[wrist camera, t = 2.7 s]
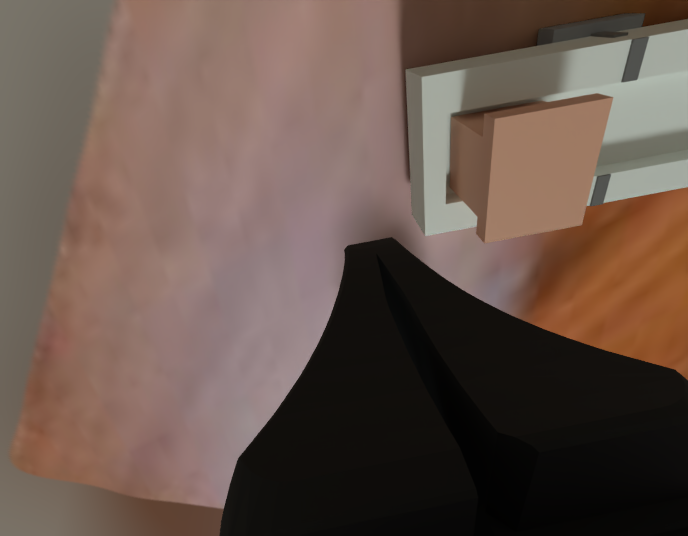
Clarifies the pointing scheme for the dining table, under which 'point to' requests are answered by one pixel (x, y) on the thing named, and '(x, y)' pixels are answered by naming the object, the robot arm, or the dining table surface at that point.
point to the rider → (528, 164)
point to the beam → (556, 84)
